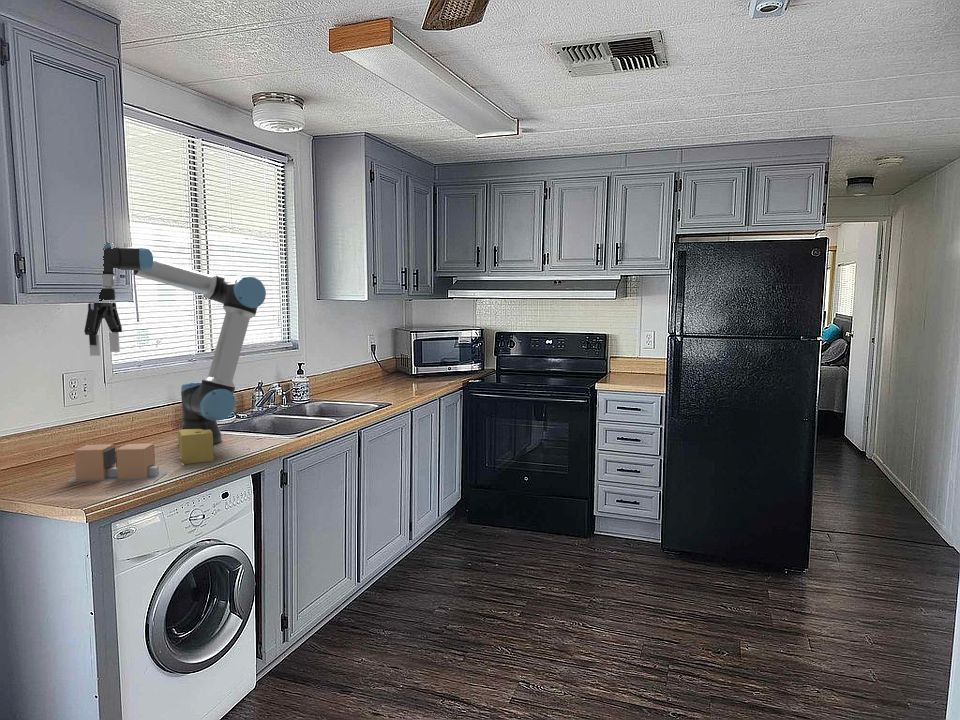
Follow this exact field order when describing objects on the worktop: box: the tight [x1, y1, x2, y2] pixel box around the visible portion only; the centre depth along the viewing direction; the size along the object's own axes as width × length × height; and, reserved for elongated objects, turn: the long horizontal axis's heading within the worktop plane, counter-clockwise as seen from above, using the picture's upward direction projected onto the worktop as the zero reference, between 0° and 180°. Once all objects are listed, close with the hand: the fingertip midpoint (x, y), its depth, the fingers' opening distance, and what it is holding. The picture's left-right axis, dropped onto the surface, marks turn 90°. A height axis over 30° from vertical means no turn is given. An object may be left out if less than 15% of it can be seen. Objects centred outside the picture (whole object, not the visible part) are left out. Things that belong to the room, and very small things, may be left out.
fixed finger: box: [73, 443, 116, 480], centre depth 205 cm, size 7×9×9 cm
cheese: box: [177, 429, 215, 465], centre depth 229 cm, size 10×11×10 cm
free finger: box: [115, 443, 156, 479], centre depth 206 cm, size 7×9×9 cm
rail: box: [66, 465, 167, 484], centre depth 206 cm, size 10×25×4 cm, turn 94°
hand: (105, 353), depth 220 cm, fingers open, 13 cm apart
